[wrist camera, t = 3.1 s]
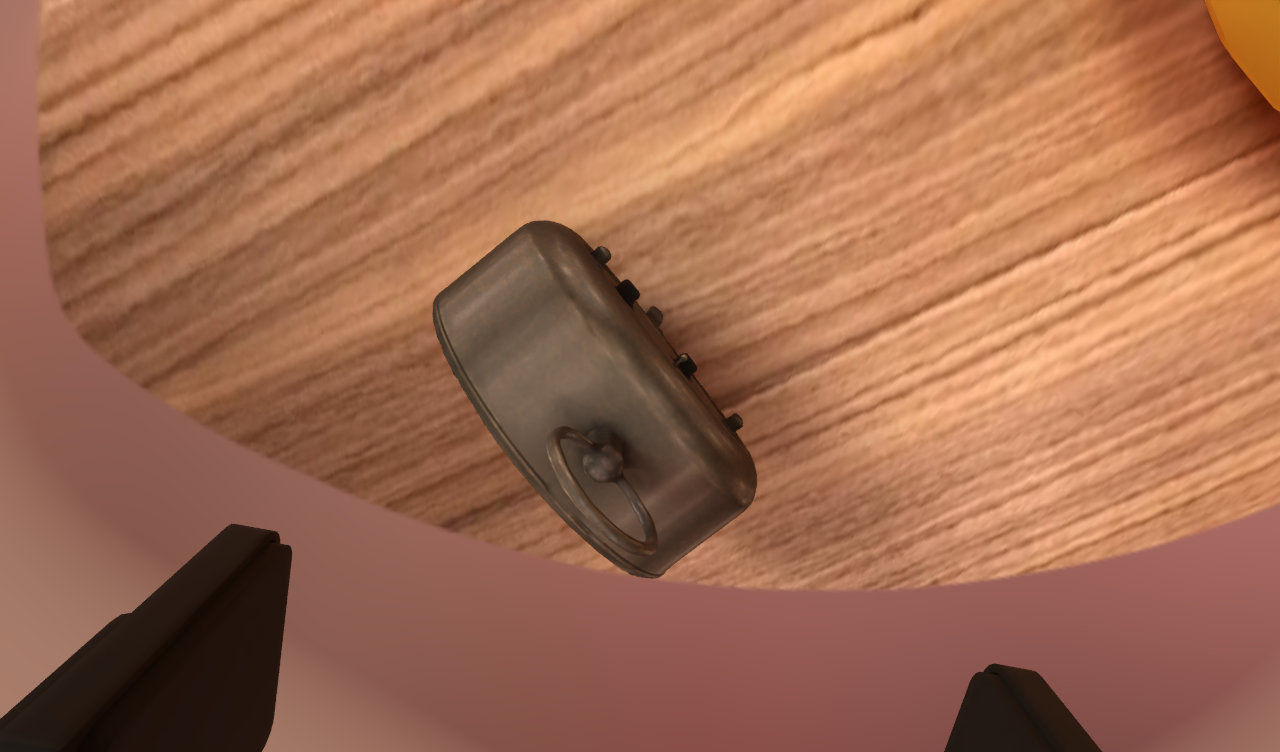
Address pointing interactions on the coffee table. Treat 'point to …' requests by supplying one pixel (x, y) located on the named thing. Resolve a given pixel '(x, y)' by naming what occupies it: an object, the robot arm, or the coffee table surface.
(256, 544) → the robot arm
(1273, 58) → the vase
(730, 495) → the alarm clock
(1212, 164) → the coffee table surface
